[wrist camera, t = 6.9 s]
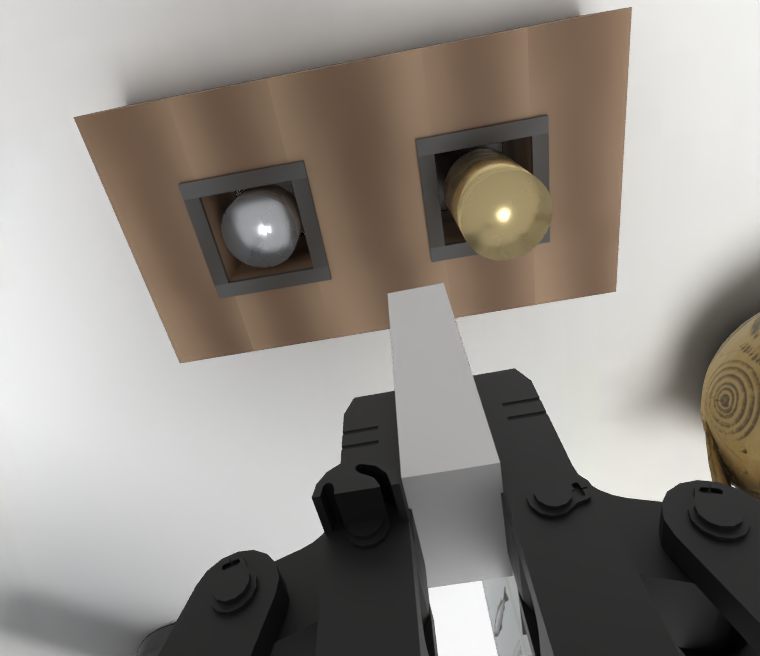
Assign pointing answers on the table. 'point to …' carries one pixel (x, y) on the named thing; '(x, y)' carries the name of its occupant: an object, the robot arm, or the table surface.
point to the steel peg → (263, 225)
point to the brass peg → (497, 204)
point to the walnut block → (371, 183)
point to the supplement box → (506, 616)
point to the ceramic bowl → (734, 410)
